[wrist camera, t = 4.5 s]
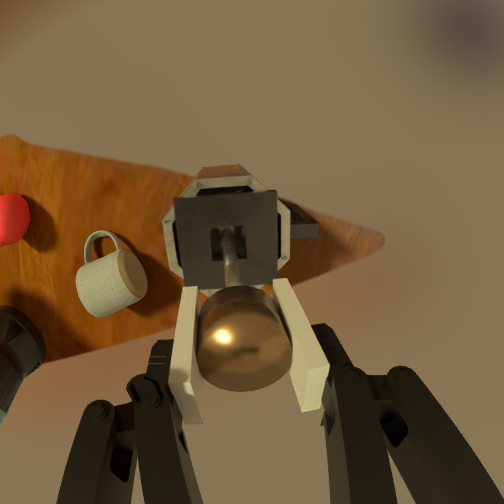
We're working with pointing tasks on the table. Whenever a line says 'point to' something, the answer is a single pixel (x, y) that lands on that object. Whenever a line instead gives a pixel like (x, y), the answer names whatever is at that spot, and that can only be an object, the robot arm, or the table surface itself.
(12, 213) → the apple
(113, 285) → the ceramic mug
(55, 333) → the table surface
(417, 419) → the robot arm
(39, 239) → the table surface
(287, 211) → the carafe
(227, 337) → the plunger
